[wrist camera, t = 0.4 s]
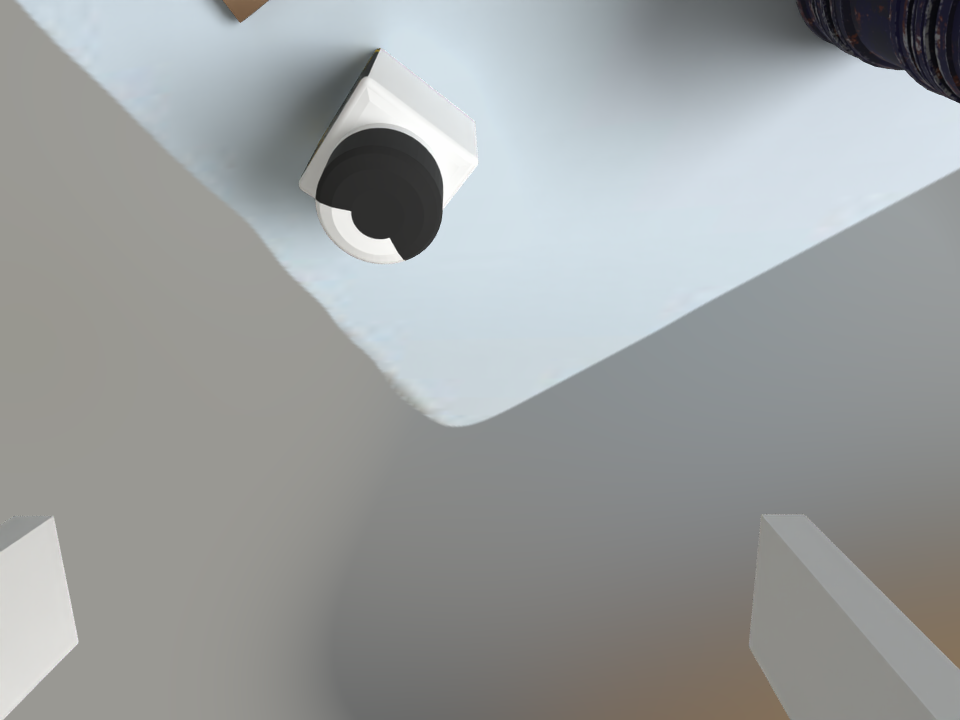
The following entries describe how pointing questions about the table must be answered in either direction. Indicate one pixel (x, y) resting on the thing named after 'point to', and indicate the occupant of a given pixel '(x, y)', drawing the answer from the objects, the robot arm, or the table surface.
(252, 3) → the coupling seat
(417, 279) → the table surface
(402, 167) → the medicine bottle
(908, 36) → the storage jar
